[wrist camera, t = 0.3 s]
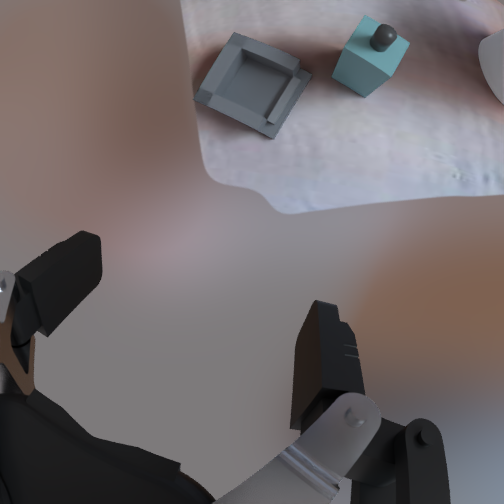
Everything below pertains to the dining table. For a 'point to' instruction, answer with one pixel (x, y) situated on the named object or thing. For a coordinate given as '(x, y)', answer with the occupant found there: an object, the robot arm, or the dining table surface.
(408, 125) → the dining table surface
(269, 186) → the dining table surface
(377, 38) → the plug
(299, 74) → the socket
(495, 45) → the canister
